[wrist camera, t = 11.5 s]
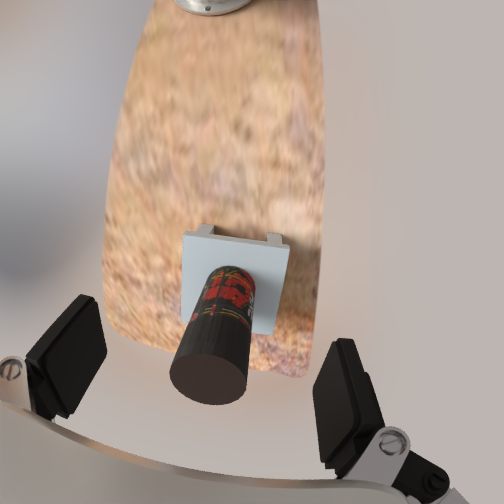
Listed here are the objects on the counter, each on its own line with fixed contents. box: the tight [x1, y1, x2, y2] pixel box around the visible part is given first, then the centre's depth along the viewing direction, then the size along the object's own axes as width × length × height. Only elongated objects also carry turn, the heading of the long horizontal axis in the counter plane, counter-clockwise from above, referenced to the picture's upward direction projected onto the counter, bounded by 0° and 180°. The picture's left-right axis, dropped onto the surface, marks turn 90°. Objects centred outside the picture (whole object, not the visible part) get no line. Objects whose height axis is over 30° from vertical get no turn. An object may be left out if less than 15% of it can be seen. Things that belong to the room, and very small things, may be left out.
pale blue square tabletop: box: [181, 224, 290, 335], centre depth 37 cm, size 12×12×7 cm
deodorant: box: [170, 265, 256, 405], centre depth 27 cm, size 6×6×15 cm
